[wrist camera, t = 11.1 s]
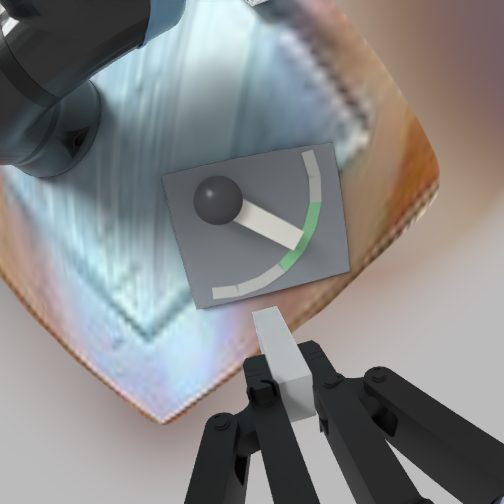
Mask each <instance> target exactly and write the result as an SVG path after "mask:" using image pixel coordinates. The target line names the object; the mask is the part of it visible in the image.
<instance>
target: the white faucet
mask: <svg viewBox="0 0 504 504" xmlns="http://www.w3.org/2000/svg"><path fill="white" fill-rule="evenodd" d="M245 1H246V2H247V3H248V4H249V5H250V6H251V7H253V6H255V5H258V4H260V3H263V2H265V1H268V0H245Z"/></svg>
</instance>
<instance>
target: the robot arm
mask: <svg viewBox="0 0 504 504" xmlns="http://www.w3.org/2000/svg"><path fill="white" fill-rule="evenodd" d="M0 3H1V5H2V6H3V7H4V8H5V9H6V10H5V11H4V12H3V13H2V14H1V15H0V165H13V166H15V167H17V168H18V169H20V170H21V171H23V172H24V173H26V174H28V175H31V176H35V177H50V176H56V175H59V174H62V173H64V172H66V171H68V170H69V169H71V168H72V167H74V166H75V165H76V164H77V163H78V162H79V161H80V160H81V159H82V158H83V157H84V156H85V154H86V153H87V152H88V150H89V148H90V147H91V145H92V143H93V141H94V139H95V136H96V134H97V131H98V127H99V123H100V115H101V107H100V100H99V96H98V93H97V91H96V89H95V87H94V85H93V84H92V83H91V82H90V81H89V80H88V79H90V78H91V77H92V76H94V75H95V74H97V73H98V72H100V71H101V70H103V69H104V68H106V67H107V66H109V65H110V64H112V63H113V62H115V61H116V60H118V59H120V58H121V57H123V56H124V55H126V54H128V53H129V52H131V51H133V50H134V49H140V48H142V47H144V46H145V45H146V44H147V43H148V41H150V40H152V39H153V38H155V37H157V36H159V35H160V34H162V33H164V32H166V31H168V30H170V29H171V28H173V27H174V26H175V25H176V24H177V23H178V22H179V20H180V19H181V17H182V15H183V13H184V10H185V6H186V0H0ZM252 315H253V319H254V323H255V328H256V332H257V336H258V341H259V345H260V349H261V352H262V355H258V356H254V357H250V358H246V359H245V361H244V364H243V369H244V373H245V378H246V383H247V395H248V399H249V404H248V406H247V407H246V408H245V409H244V410H243V411H241V412H239V413H238V414H235V415H232V414H230V413H225V412H224V413H218V414H215V415H213V416H212V417H210V418H209V419H208V421H207V423H206V425H205V429H204V433H203V436H202V440H201V443H200V447H199V451H198V454H197V458H196V462H195V465H194V469H193V473H192V477H191V480H190V484H189V487H188V491H187V495H186V498H185V502H184V504H245V497H246V490H247V481H248V473H249V465H250V457H251V454H253V453H255V452H257V451H259V450H261V453H262V457H263V461H264V465H265V470H266V474H267V478H268V482H269V486H270V490H271V494H272V497H273V501H274V504H320V502H319V499H318V497H317V494H316V491H315V489H314V486H313V483H312V481H311V478H310V475H309V473H308V470H307V467H306V464H305V462H304V459H303V456H302V454H301V451H300V448H299V446H298V443H297V440H296V437H295V434H294V432H293V429H292V426H291V422H295V421H298V420H301V419H305V418H308V417H312V416H314V415H316V411H317V413H318V415H319V424H320V432H324V434H325V436H326V438H327V440H328V443H329V445H330V447H331V449H332V451H333V454H334V456H335V458H336V460H337V462H338V464H339V467H340V468H341V471H342V473H343V475H344V478H345V480H346V482H347V484H348V486H349V488H350V490H351V493H352V495H353V497H354V499H355V501H356V503H357V504H434V503H433V502H432V501H431V500H430V499H426V498H423V497H421V495H420V494H419V492H418V491H417V489H416V487H415V486H414V484H413V483H412V481H411V479H410V478H409V476H408V475H407V473H406V472H405V470H404V469H403V467H402V465H401V464H400V462H399V461H398V459H397V457H396V456H395V454H394V453H393V451H392V450H391V448H390V447H389V445H388V443H387V442H386V440H387V441H388V442H389V443H390V444H391V445H392V446H393V447H395V448H396V449H397V450H398V451H399V452H400V453H402V454H403V455H404V456H405V457H406V458H408V459H409V460H410V461H411V462H412V463H413V464H415V465H416V466H417V467H418V468H419V469H421V470H422V471H423V472H424V473H425V474H427V475H428V476H429V477H430V478H432V479H433V480H434V481H435V482H437V483H438V484H439V485H440V486H441V487H443V488H444V489H445V490H446V491H448V492H449V493H450V494H452V495H453V496H454V497H455V498H457V499H458V500H459V501H460V502H462V503H463V504H504V444H503V443H502V442H500V441H498V440H496V439H495V438H494V437H492V436H491V435H489V434H487V433H486V432H484V431H483V430H481V429H480V428H478V427H476V426H475V425H473V424H472V423H470V422H469V421H467V420H466V419H464V418H463V417H461V416H460V415H458V414H456V413H455V412H453V411H452V410H450V409H449V408H447V407H446V406H444V405H443V404H441V403H440V402H438V401H437V400H435V399H434V398H432V397H431V396H429V395H428V394H426V393H425V392H423V391H422V390H420V389H419V388H417V387H415V386H414V385H412V384H411V383H410V382H408V381H407V380H405V379H404V378H402V377H400V376H399V375H398V374H396V373H395V372H393V371H392V370H390V369H388V368H386V367H380V366H379V367H373V368H371V369H369V370H368V371H367V372H366V373H365V375H364V377H361V378H345V377H344V376H343V375H341V374H339V373H337V372H336V371H335V369H334V367H333V366H332V364H331V363H330V361H329V360H328V358H327V356H326V355H325V353H324V352H323V351H322V349H321V347H320V345H319V344H317V343H316V342H314V341H312V340H311V341H307V342H304V343H300V344H296V343H295V340H294V339H293V337H292V335H291V333H290V331H289V329H288V327H287V325H286V323H285V321H284V319H283V317H282V315H281V313H280V311H279V310H278V308H277V306H274V307H270V308H266V309H263V310H259V311H254V312H252ZM385 439H386V440H385Z"/></svg>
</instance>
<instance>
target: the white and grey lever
mask: <svg viewBox="0 0 504 504" xmlns="http://www.w3.org/2000/svg"><path fill="white" fill-rule="evenodd" d="M193 204H194V209H195V211H196V213H197V215H198V216H199V217H200V218H201V219H202V220H203V221H205V222H206V223H209V224H212V225H224V224H227V223H229V222H231V221H232V220H234V221H236V222H238V223H240V224H242V225H244V226H246V227H248V228H250V229H252V230H254V231H256V232H258V233H260V234H262V235H264V236H266V237H268V238H270V239H272V240H274V241H276V242H278V243H280V244H282V245H284V246H286V247H287V248H289V249H291V250H293V251H294V249H295V247H296V246H297V244H298V242H299V240H300V238H301V236H302V235H303V233H304V231H302V230H300V229H299V228H297V227H296V226H294V225H293V224H291V223H289V222H287V221H285V220H284V219H282V218H280V217H278V216H276V215H274V214H272V213H270V212H268V211H266V210H265V209H263V208H261V207H259V206H257V205H255V204H253V203H251V202H249V201H247V200H245V199H243V196H242V192H241V190H240V188H239V186H238V185H237V184H236V183H235V182H234V181H233V180H231V179H229V178H227V177H224V176H219V175H215V176H210V177H208V178H206V179H204V180H203V181H202V182H201V183H200V184H199V186H198V187H197V189H196V191H195V193H194V198H193Z"/></svg>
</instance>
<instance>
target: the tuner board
mask: <svg viewBox="0 0 504 504" xmlns="http://www.w3.org/2000/svg"><path fill="white" fill-rule="evenodd" d="M215 175H219V176H224V177H227V178H229V179H231V180H233V181H234V182H235V183H236V184H237V185H238V186H239V188H240V190H241V192H242V196H243V199H245V200H247V201H249V202H251V203H253V204H255V205H257V206H259V207H261V208H263V209H265V210H266V211H268V212H270V213H272V214H274V215H276V216H278V217H280V218H282V219H284V220H285V221H287V222H289V223H291V224H293V225H294V226H296V227H297V228H299V229H300V230H302V231H304V233H303V235H302V236H301V238H300V240H299V242H298V244H297V246H296V247H295V249H294V251H293V250H291V249H289V248H287V247H286V246H284V245H282V244H280V243H278V242H276V241H274V240H272V239H270V238H268V237H266V236H264V235H262V234H260V233H258V232H256V231H254V230H252V229H250V228H248V227H246V226H244V225H242V224H240V223H238V222H236V221H234V220H232V221H231V222H229V223H227V224H224V225H212V224H209V223H206V222H205V221H203V220H202V219H201V218H200V217H199V216H198V215H197V213H196V211H195V209H194V204H193V198H194V193H195V191H196V189H197V187H198V186H199V184H200V183H201V182H202V181H203V180H204V179H206V178H208V177H210V176H215ZM161 177H162V181H163V186H164V190H165V194H166V199H167V203H168V207H169V211H170V215H171V219H172V223H173V227H174V231H175V235H176V239H177V242H178V246H179V250H180V254H181V257H182V261H183V264H184V268H185V271H186V275H187V278H188V282H189V285H190V289H191V292H192V295H193V299H194V302H195V305H196V309H197V310H198V309H202V308H207V307H211V306H215V305H220V304H224V303H228V302H232V301H237V300H241V299H245V298H249V297H253V296H257V295H261V294H265V293H269V292H273V291H277V290H281V289H285V288H289V287H293V286H297V285H300V284H304V283H308V282H312V281H315V280H319V279H323V278H326V277H330V276H334V275H337V274H341V273H344V272H348V271H350V266H349V255H348V245H347V236H346V227H345V219H344V211H343V203H342V196H341V189H340V183H339V176H338V170H337V164H336V158H335V153H334V147H333V143H325V144H317V145H310V146H303V147H296V148H290V149H284V150H278V151H272V152H266V153H261V154H255V155H250V156H245V157H240V158H235V159H230V160H225V161H220V162H216V163H211V164H207V165H203V166H198V167H194V168H190V169H186V170H182V171H178V172H174V173H170V174H166V175H162V176H161Z"/></svg>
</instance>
